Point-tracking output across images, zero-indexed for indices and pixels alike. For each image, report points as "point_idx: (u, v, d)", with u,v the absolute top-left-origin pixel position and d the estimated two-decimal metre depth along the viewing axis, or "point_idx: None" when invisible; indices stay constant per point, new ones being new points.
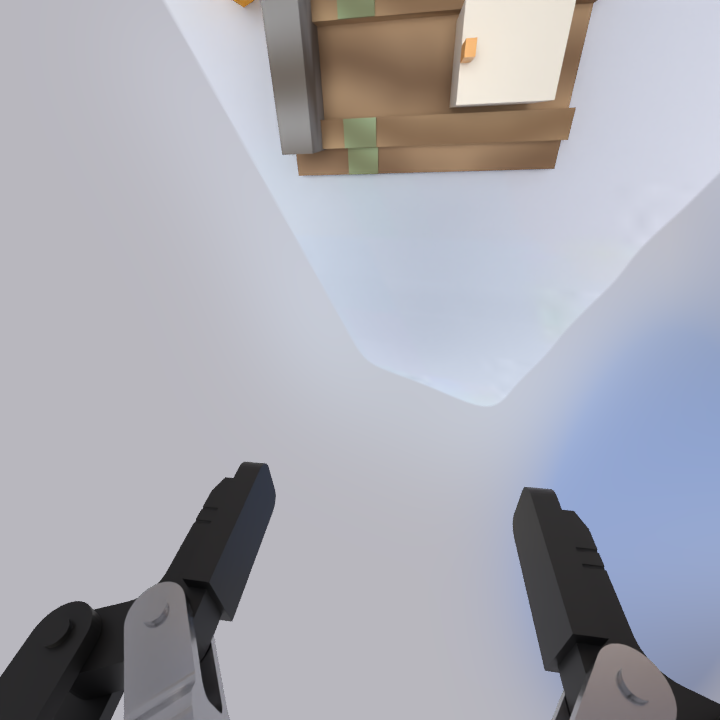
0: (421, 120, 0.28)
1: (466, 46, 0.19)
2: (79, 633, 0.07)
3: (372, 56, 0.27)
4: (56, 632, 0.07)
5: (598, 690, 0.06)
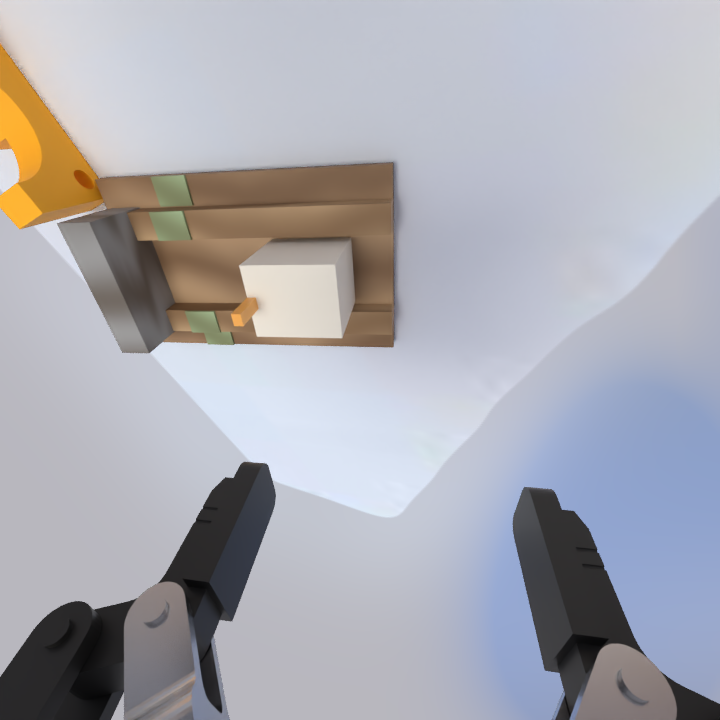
0: None
1: (233, 319, 0.21)
2: (79, 633, 0.07)
3: (205, 259, 0.28)
4: (56, 632, 0.07)
5: (598, 690, 0.06)
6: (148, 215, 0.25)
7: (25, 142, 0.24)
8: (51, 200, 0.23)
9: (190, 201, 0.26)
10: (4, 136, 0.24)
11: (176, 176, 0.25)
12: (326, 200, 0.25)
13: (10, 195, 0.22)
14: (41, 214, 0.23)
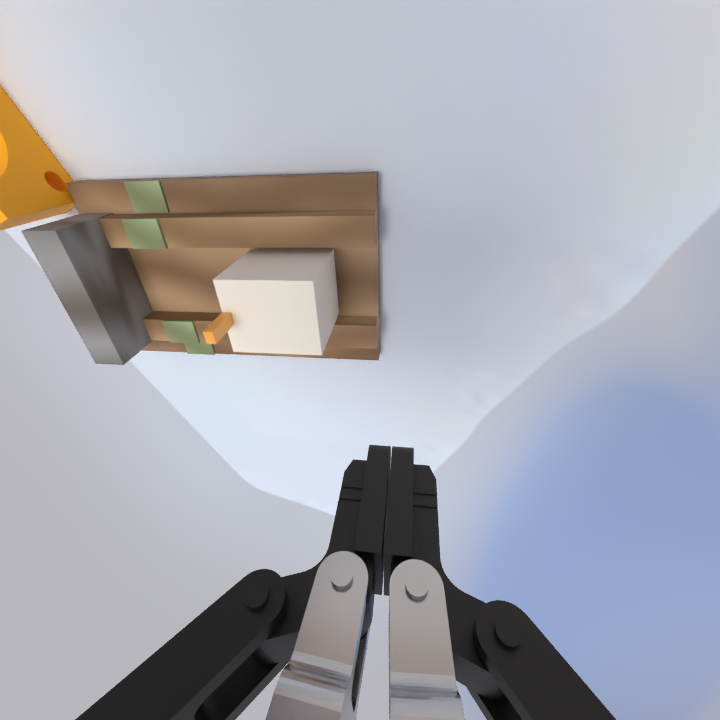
0: None
1: (205, 336, 0.20)
2: (276, 598, 0.08)
3: (183, 267, 0.27)
4: (256, 598, 0.08)
5: (397, 614, 0.07)
6: (121, 222, 0.24)
7: None
8: (18, 204, 0.22)
9: (166, 208, 0.25)
10: None
11: (150, 182, 0.24)
12: (307, 210, 0.24)
13: None
14: (6, 219, 0.22)
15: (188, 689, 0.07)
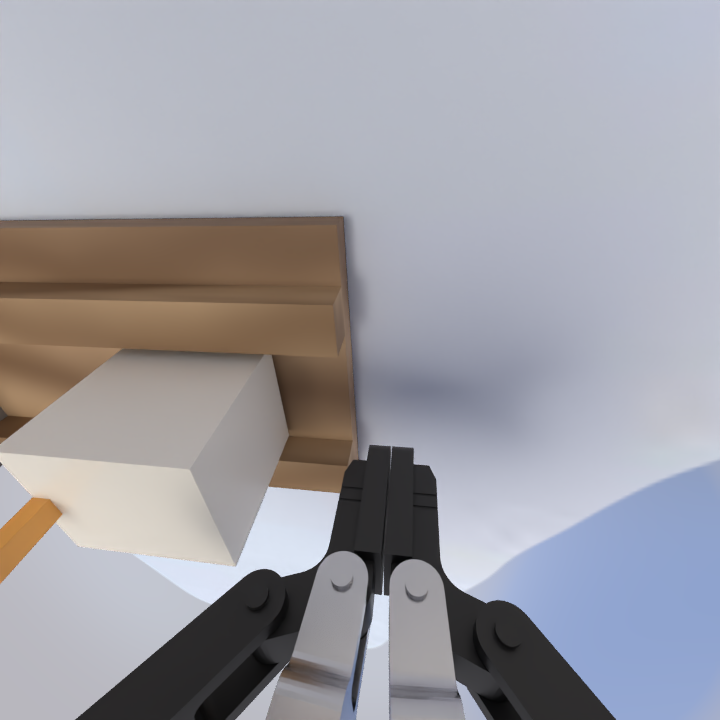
0: None
1: None
2: (276, 599, 0.08)
3: (33, 360, 0.17)
4: (256, 597, 0.08)
5: (397, 614, 0.07)
6: None
7: None
8: None
9: None
10: None
11: None
12: (218, 283, 0.13)
13: None
14: None
15: (188, 689, 0.07)
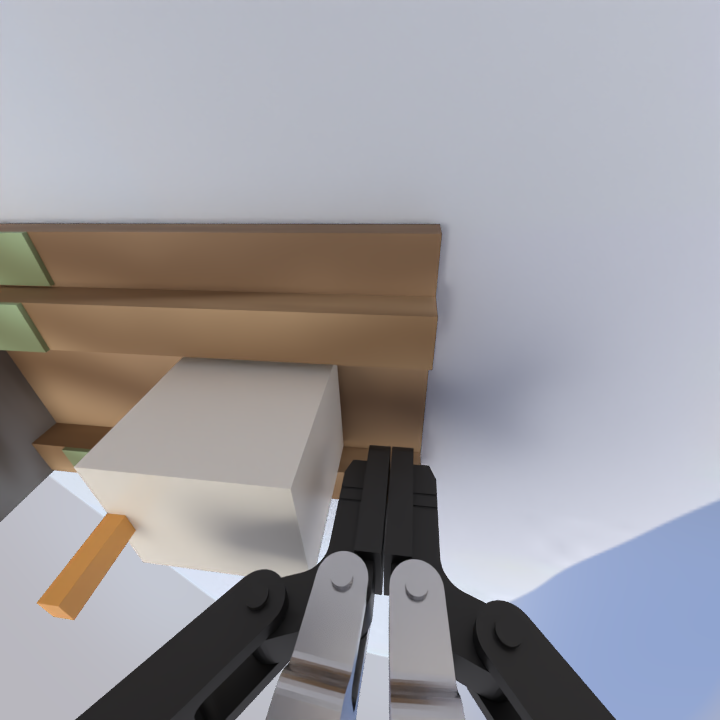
0: None
1: (46, 609, 0.09)
2: (276, 598, 0.08)
3: (93, 367, 0.16)
4: (256, 598, 0.08)
5: (397, 614, 0.07)
6: None
7: None
8: None
9: (45, 279, 0.14)
10: None
11: (8, 234, 0.13)
12: (304, 291, 0.13)
13: None
14: None
15: (188, 689, 0.07)
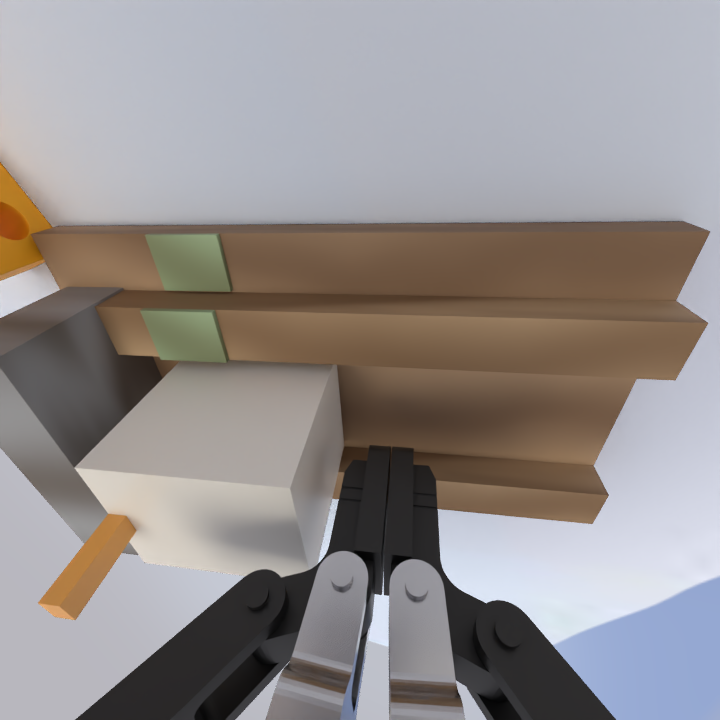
0: (337, 476, 0.16)
1: (47, 609, 0.09)
2: (276, 598, 0.08)
3: None
4: (256, 598, 0.08)
5: (397, 614, 0.07)
6: (139, 314, 0.12)
7: None
8: None
9: (227, 284, 0.13)
10: None
11: (200, 236, 0.12)
12: (521, 295, 0.12)
13: None
14: None
15: (188, 689, 0.07)
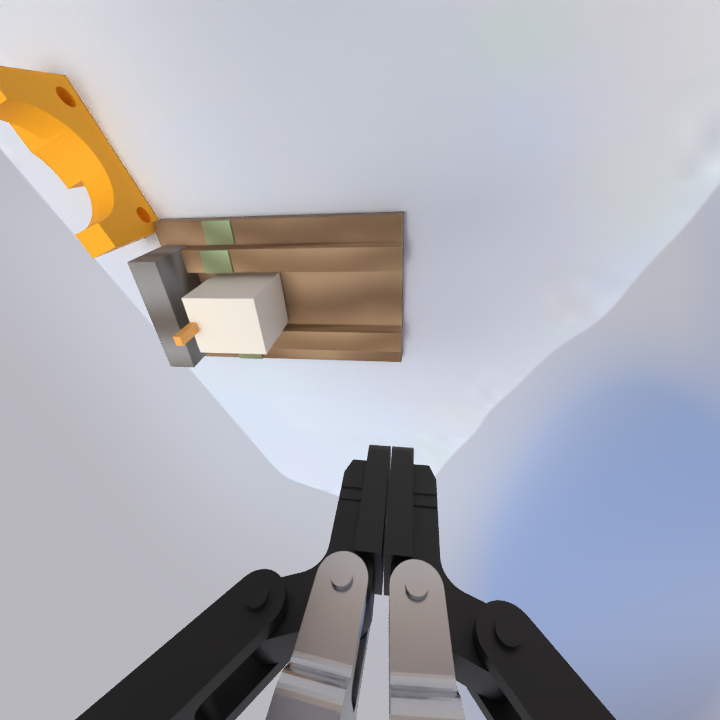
0: (284, 334, 0.34)
1: (175, 340, 0.27)
2: (276, 598, 0.08)
3: None
4: (256, 597, 0.08)
5: (397, 614, 0.07)
6: (198, 253, 0.30)
7: (99, 185, 0.29)
8: (121, 235, 0.28)
9: (233, 241, 0.31)
10: (81, 179, 0.29)
11: (222, 221, 0.30)
12: (347, 241, 0.30)
13: (90, 232, 0.27)
14: (114, 247, 0.28)
15: (188, 689, 0.07)
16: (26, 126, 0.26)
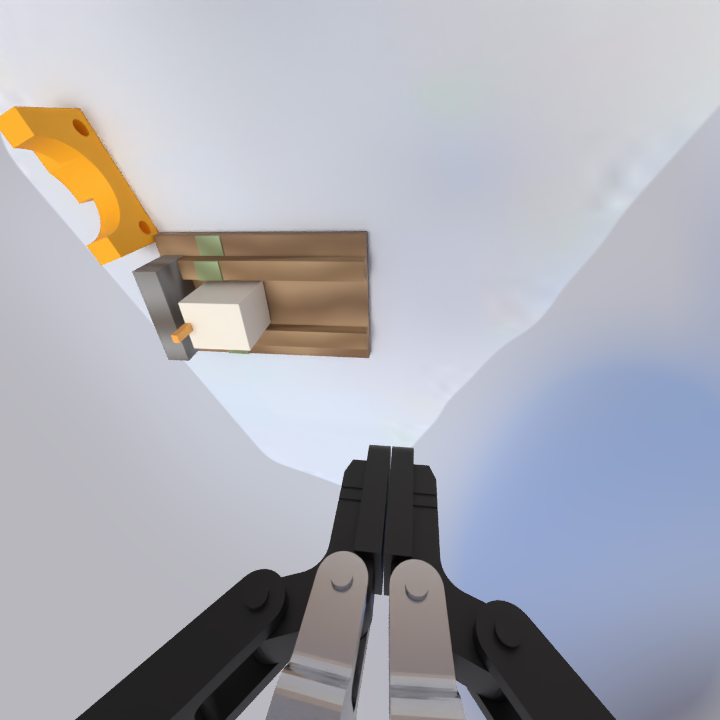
0: (267, 333, 0.39)
1: (172, 338, 0.32)
2: (276, 598, 0.08)
3: None
4: (256, 597, 0.08)
5: (397, 614, 0.07)
6: (192, 263, 0.36)
7: (107, 202, 0.34)
8: (126, 246, 0.33)
9: (222, 253, 0.36)
10: (91, 196, 0.34)
11: (213, 236, 0.35)
12: (320, 255, 0.35)
13: (99, 243, 0.32)
14: (119, 257, 0.33)
15: (188, 689, 0.07)
16: (47, 153, 0.30)
